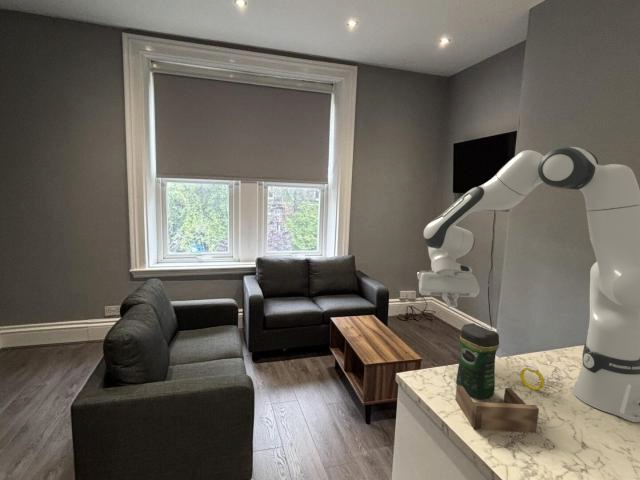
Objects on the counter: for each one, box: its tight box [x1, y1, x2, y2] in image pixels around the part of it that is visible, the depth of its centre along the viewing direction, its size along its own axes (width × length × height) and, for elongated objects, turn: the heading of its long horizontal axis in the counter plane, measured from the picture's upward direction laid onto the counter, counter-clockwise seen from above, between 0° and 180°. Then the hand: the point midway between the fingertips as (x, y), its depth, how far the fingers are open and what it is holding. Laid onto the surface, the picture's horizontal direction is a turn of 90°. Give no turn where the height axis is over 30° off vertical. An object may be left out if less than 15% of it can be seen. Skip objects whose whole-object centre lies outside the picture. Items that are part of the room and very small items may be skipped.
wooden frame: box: [455, 385, 540, 434], centre depth 84 cm, size 14×12×6 cm
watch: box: [519, 365, 545, 391], centre depth 98 cm, size 6×3×6 cm, turn 30°
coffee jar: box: [455, 322, 500, 400], centre depth 94 cm, size 10×8×19 cm
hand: (452, 306), depth 114 cm, fingers closed
